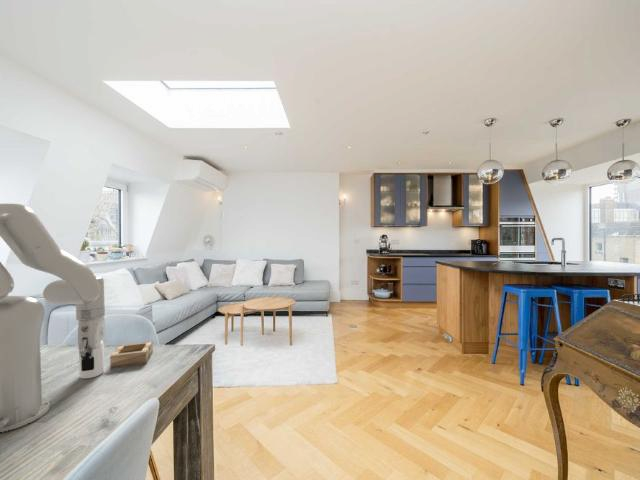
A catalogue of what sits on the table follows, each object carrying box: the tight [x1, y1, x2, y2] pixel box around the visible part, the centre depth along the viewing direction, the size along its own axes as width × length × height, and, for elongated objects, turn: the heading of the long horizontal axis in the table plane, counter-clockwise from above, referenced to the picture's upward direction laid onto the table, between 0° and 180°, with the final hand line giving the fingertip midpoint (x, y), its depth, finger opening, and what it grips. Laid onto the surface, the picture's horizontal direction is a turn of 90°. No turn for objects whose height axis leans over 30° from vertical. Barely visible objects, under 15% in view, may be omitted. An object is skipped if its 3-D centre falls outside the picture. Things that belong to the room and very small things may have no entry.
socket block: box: [109, 341, 154, 370], centre depth 107 cm, size 11×11×4 cm
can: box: [78, 338, 105, 380], centre depth 96 cm, size 6×6×12 cm
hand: (92, 365), depth 96 cm, fingers closed on can, 6 cm apart
